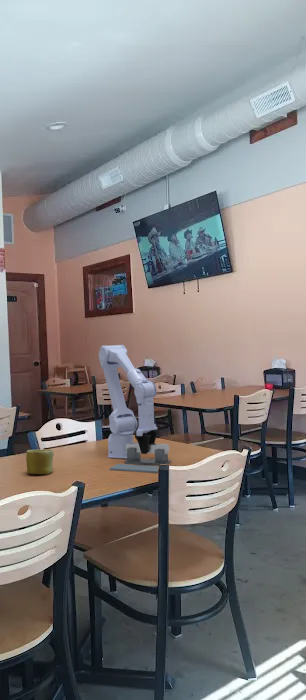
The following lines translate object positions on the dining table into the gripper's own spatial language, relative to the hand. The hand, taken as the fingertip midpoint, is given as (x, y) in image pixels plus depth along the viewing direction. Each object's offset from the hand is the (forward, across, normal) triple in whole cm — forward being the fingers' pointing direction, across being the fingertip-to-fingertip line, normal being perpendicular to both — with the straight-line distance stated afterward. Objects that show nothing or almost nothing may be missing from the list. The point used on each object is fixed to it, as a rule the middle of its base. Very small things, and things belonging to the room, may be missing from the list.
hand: (147, 452), depth 210 cm
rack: (+4, 0, 0) cm, 4 cm away
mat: (+4, -10, 0) cm, 11 cm away
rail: (0, 0, 0) cm, 0 cm away
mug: (+4, -22, +31) cm, 38 cm away
